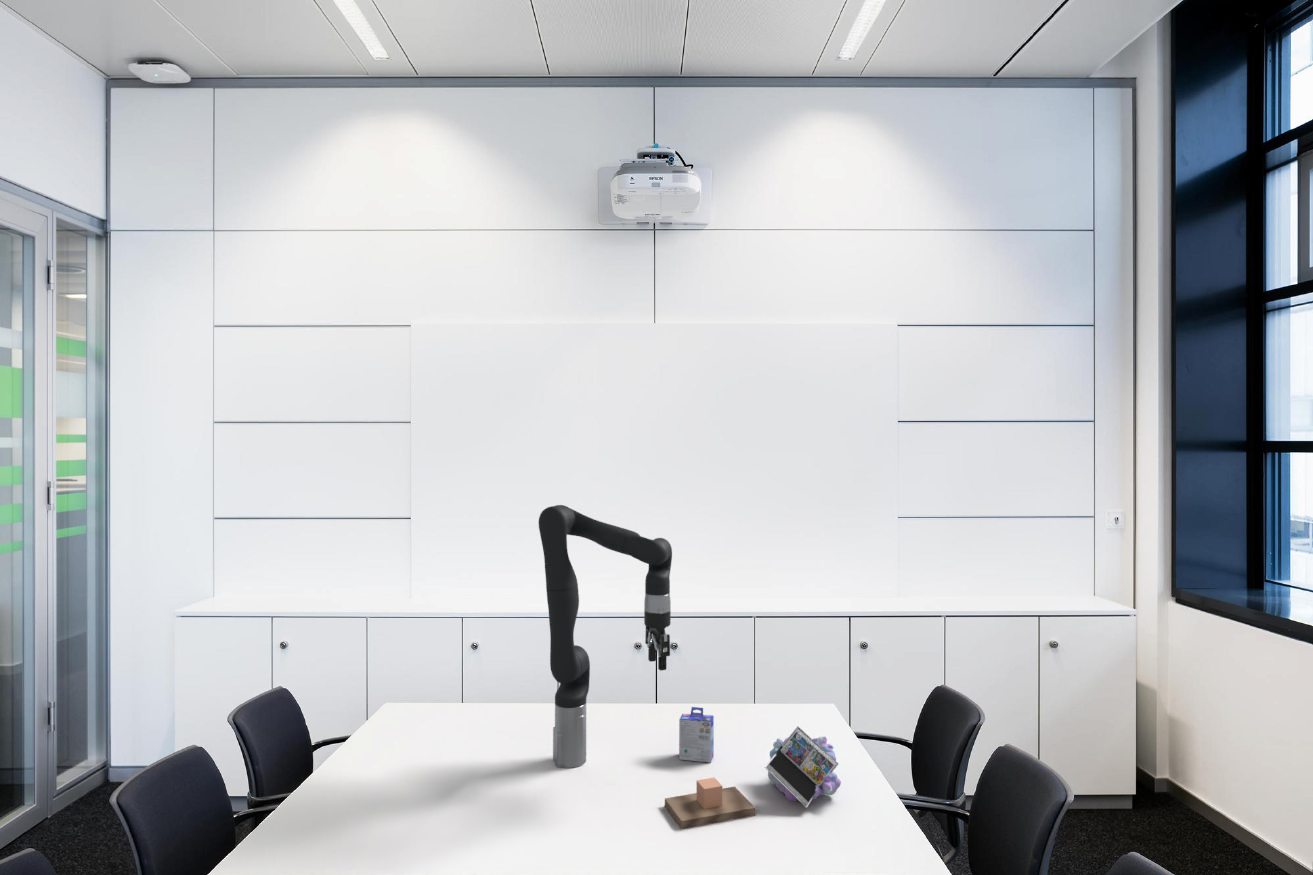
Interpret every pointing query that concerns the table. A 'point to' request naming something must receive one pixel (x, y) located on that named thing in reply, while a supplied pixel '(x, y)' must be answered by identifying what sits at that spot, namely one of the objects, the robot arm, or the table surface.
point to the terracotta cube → (709, 793)
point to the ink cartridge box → (696, 736)
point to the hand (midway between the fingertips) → (657, 665)
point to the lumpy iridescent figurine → (803, 767)
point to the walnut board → (709, 809)
